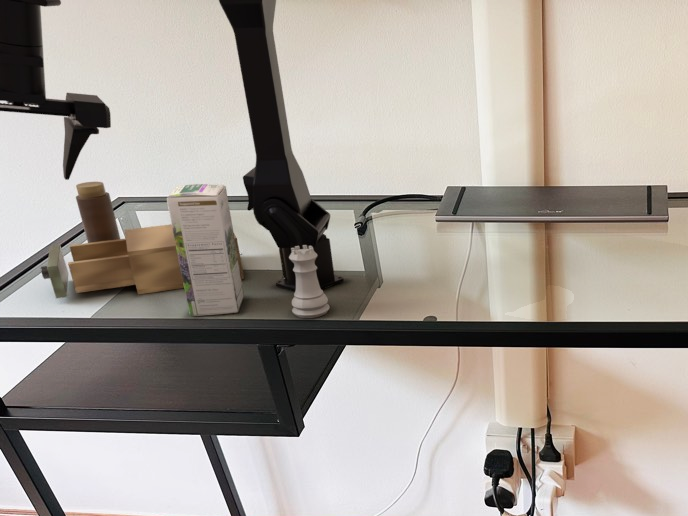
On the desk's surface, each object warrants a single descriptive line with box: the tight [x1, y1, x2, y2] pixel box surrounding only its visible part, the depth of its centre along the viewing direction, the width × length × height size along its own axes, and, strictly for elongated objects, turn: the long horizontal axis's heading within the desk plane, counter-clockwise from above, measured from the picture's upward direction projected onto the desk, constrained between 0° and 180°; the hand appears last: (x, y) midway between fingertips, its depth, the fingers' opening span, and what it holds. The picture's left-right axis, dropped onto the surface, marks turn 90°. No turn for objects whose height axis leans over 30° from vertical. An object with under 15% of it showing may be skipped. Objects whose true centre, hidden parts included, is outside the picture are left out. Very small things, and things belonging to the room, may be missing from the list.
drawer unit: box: [124, 224, 245, 295], centre depth 112 cm, size 13×11×6 cm
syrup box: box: [166, 183, 245, 317], centre depth 99 cm, size 6×6×14 cm
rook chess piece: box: [289, 245, 331, 319], centre depth 98 cm, size 4×4×8 cm
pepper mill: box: [75, 181, 121, 243], centre depth 116 cm, size 4×4×11 cm
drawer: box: [40, 238, 136, 299], centre depth 108 cm, size 14×10×4 cm
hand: (23, 177), depth 101 cm, fingers open, 9 cm apart
